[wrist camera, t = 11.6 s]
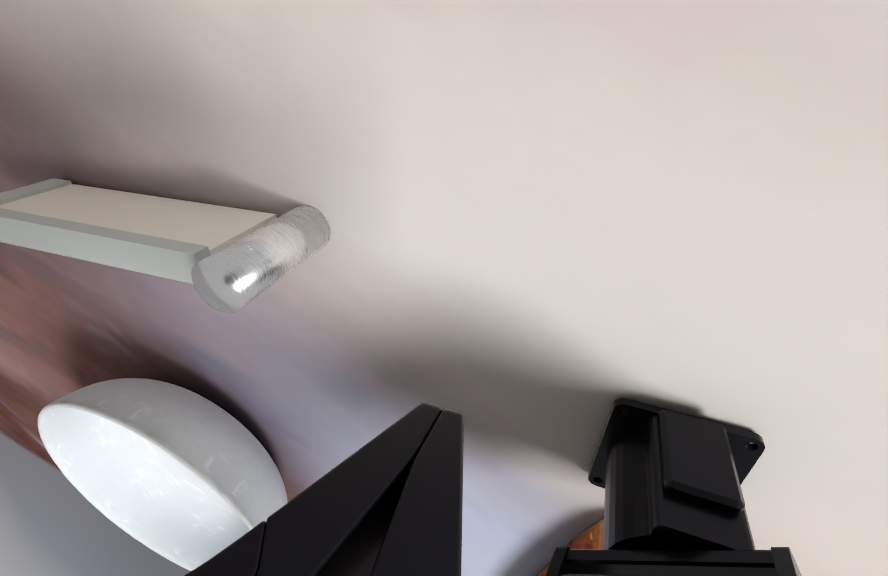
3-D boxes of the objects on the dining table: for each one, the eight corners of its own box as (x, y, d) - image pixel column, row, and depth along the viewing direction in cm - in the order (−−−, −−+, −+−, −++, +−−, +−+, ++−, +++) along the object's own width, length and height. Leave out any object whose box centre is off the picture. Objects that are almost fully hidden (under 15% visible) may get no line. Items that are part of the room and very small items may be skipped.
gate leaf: (274, 210, 22) (193, 254, 18) (281, 238, 23) (204, 286, 19) (53, 178, 27) (-53, 206, 23) (64, 202, 28) (-35, 234, 24)
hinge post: (332, 251, 23) (246, 318, 18) (294, 243, 24) (200, 306, 18) (327, 209, 22) (233, 268, 16) (287, 201, 22) (184, 255, 17)
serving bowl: (237, 520, 47) (185, 587, 41) (91, 378, 41) (8, 433, 36) (365, 506, 36) (318, 595, 30) (189, 308, 30) (91, 372, 25)
